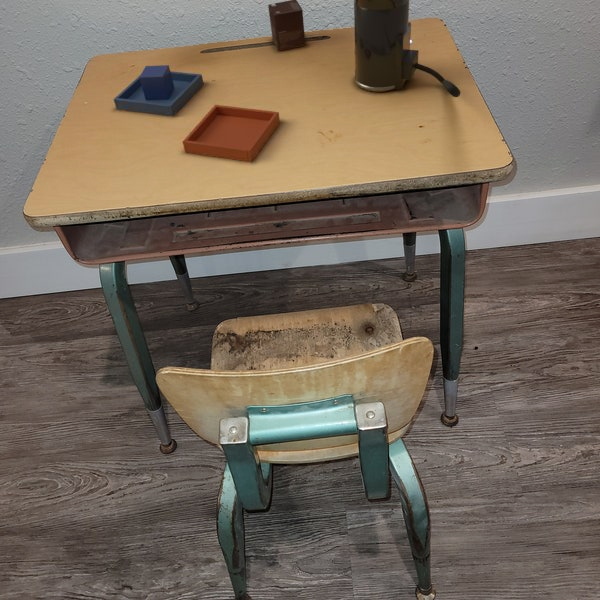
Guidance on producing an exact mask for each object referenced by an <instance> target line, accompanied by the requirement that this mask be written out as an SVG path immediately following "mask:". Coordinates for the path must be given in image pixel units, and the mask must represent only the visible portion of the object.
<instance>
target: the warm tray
mask: <svg viewBox="0 0 600 600" xmlns="http://www.w3.org/2000/svg"><path fill="white" fill-rule="evenodd" d="M280 123H281V120H280V112H279V111H274V110H273V111H272V110H263V109H255V108H248V107H247V108H246V107H238V106H229V105H221V104H214V105H213V106H212V107H211V109H210V110H209V111H208V112H207V113H206V114H205V115H204V116H203V118H202V119H201V120H200V121H199V123H197V125H195V127H194V128H193V129H192V130H191V131H190V132H189V133H188V135H187V136H186V137H185V138H184V139H183V140H182V146H183V149H184V153H188V154H194V155H195V154H196V155H203V156H210V157H215V158H223V159H228V160H229V159H230V160H236V161H245V162H249V163H250V162H251V163H252V162H253V161H254V160H255V158H256V156H257V155H258V154H259V153H260V151H261V150H262V148H263V147H264V145H265V144H266V143H267V142H268V140H269V138H270V137H271V136H272V135H273V133H274V132H275V130H276V129H277V127H278V126H279V124H280Z"/></svg>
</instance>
